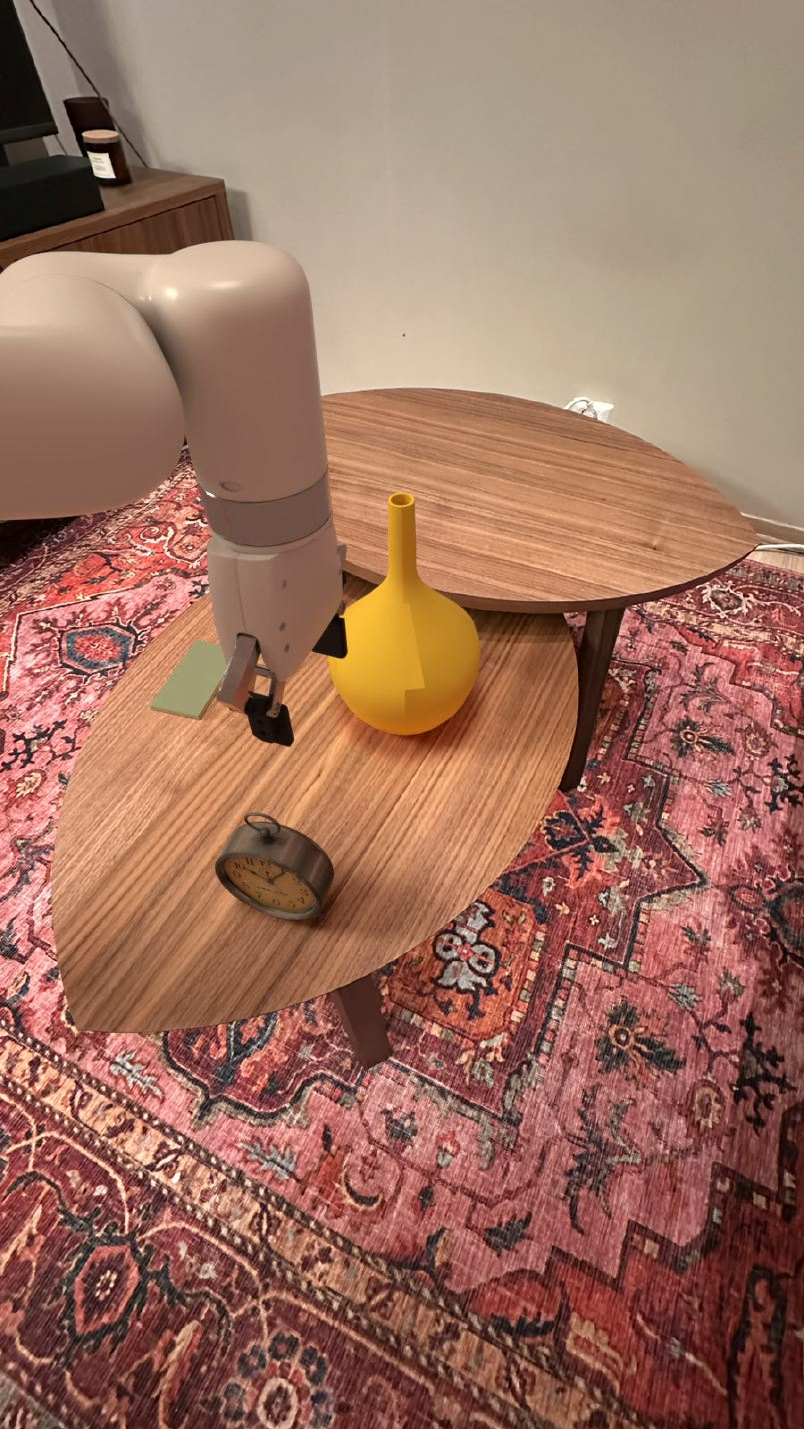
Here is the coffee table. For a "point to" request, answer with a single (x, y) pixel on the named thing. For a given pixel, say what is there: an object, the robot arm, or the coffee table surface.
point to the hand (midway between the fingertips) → (303, 693)
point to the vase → (406, 643)
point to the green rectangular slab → (193, 682)
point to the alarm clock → (275, 870)
